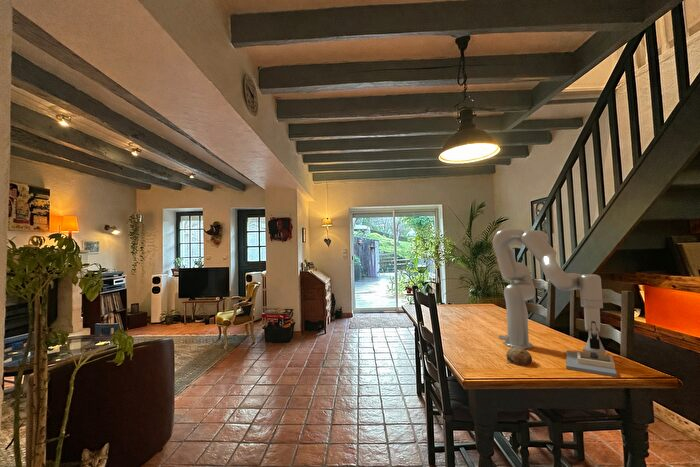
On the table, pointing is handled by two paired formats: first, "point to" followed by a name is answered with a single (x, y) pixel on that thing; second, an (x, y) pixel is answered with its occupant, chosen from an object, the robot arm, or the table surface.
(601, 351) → the flask
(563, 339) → the table surface
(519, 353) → the bread roll
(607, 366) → the dock board
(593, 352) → the pin
